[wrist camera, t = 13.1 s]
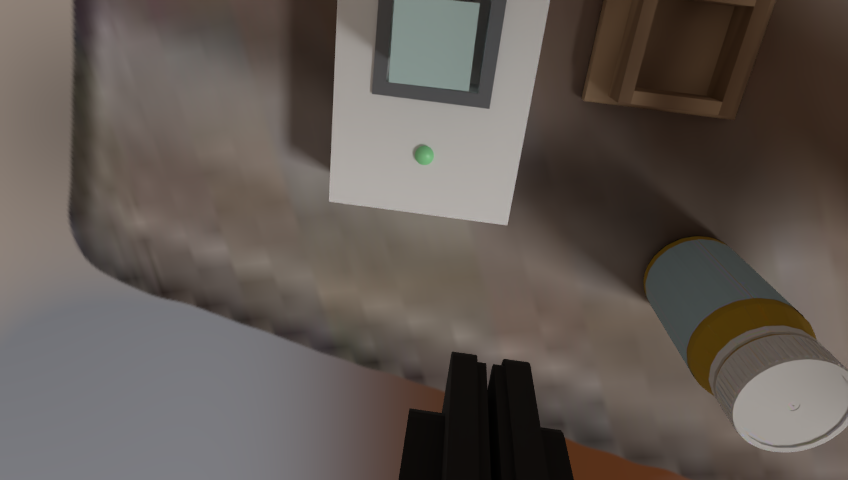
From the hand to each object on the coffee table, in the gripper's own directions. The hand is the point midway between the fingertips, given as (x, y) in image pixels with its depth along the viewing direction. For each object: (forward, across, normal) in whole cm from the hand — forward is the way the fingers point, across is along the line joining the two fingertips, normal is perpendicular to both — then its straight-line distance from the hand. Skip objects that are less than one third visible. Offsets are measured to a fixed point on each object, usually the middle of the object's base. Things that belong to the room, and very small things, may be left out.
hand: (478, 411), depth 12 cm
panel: (+29, +3, -3) cm, 29 cm away
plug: (+28, +3, -6) cm, 29 cm away
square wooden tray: (+29, -12, -7) cm, 32 cm away
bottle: (+29, -18, +9) cm, 36 cm away
